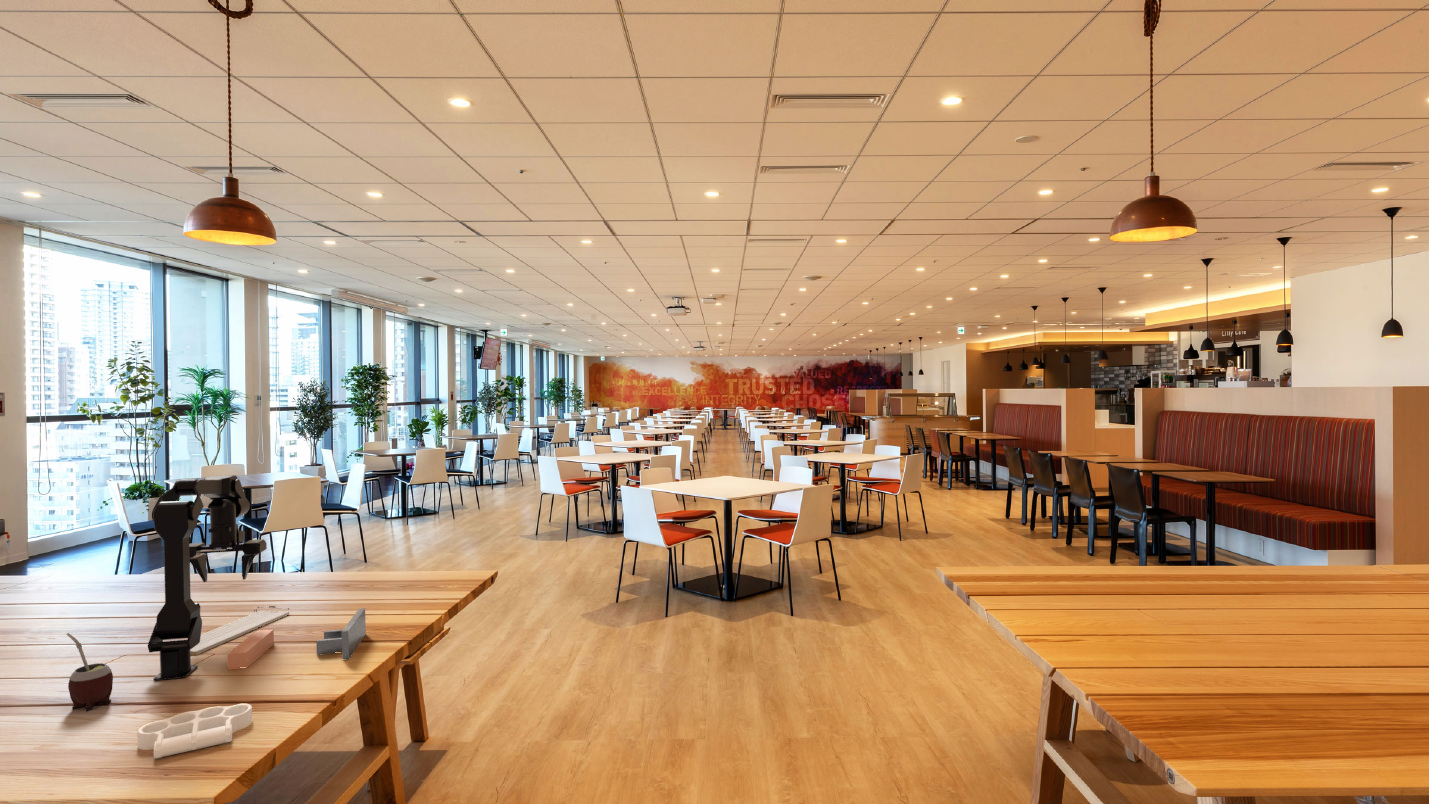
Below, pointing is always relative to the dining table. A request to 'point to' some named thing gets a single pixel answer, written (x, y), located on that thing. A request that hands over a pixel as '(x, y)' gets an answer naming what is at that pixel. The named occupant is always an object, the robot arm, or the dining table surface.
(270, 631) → the rail
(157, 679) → the robot arm
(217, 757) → the dining table surface
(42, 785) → the dining table surface
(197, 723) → the knuckle duster
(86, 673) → the mate gourd
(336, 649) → the bracket
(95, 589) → the dining table surface
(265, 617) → the baseboard
